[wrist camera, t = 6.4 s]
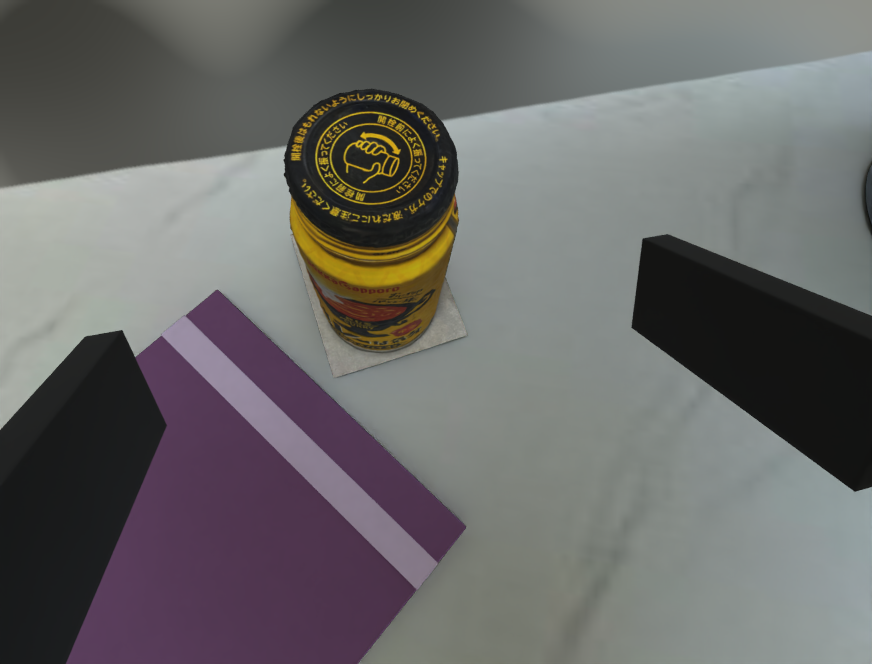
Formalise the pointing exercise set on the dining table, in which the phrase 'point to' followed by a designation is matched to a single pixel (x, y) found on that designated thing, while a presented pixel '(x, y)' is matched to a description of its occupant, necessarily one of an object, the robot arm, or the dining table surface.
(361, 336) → the condiment
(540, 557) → the dining table surface
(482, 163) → the dining table surface
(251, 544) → the towel
